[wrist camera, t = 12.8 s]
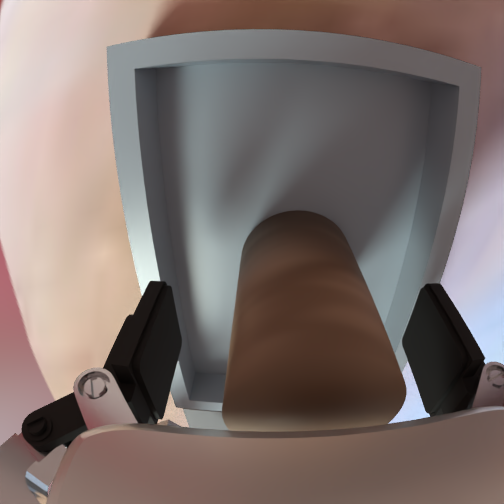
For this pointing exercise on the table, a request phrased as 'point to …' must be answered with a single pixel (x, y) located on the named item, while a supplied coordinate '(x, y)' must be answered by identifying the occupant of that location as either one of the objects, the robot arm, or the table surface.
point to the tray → (285, 167)
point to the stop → (306, 334)
